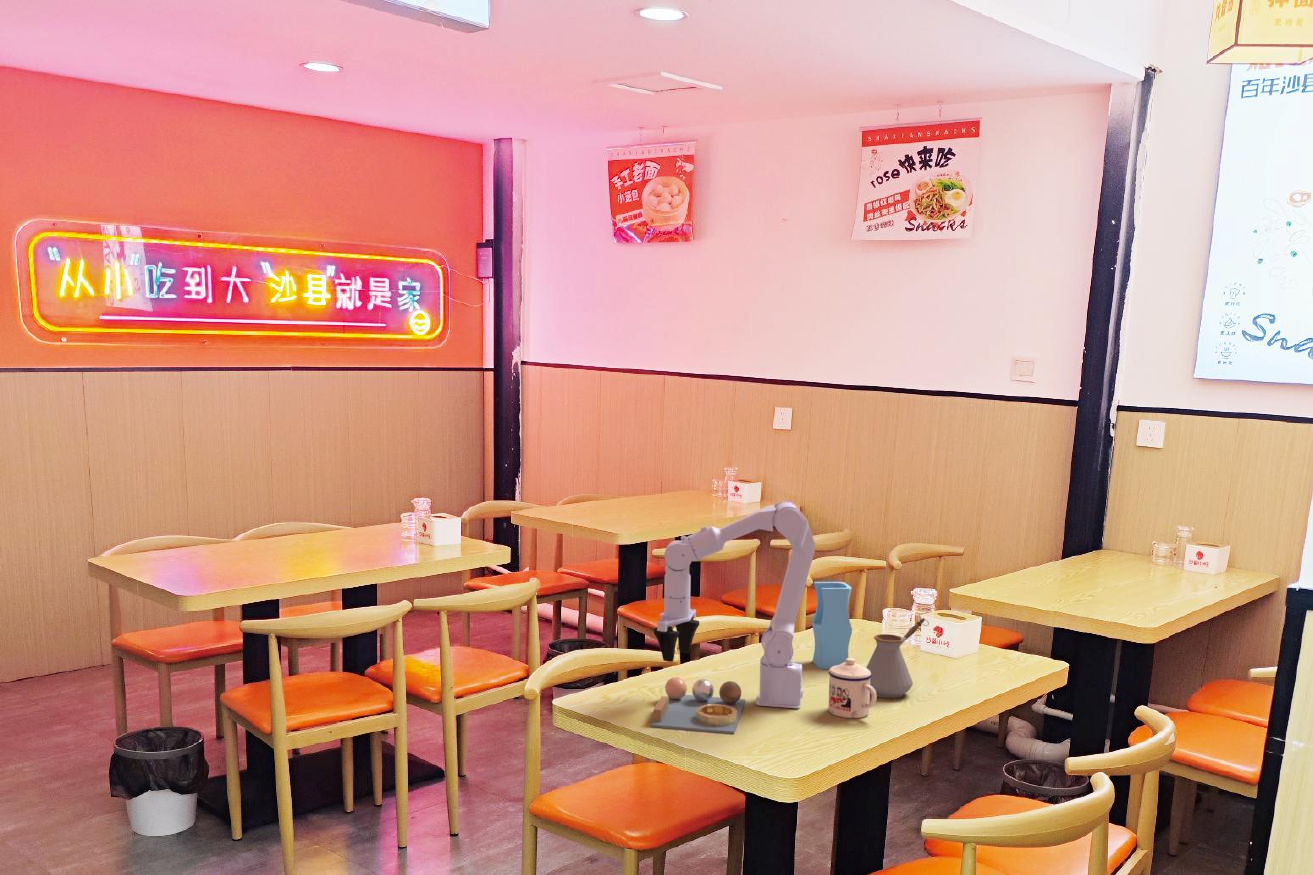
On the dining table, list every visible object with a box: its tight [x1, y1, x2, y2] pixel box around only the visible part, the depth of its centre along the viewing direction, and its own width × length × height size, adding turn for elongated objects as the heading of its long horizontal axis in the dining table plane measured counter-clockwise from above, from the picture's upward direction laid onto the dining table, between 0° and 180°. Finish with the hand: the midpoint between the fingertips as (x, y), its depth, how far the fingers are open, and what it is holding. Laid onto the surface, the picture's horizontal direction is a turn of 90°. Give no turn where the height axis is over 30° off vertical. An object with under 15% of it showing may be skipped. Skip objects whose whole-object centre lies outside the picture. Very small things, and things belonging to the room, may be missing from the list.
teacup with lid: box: [828, 657, 878, 719], centre depth 229 cm, size 12×9×12 cm
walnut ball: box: [718, 680, 742, 704], centre depth 234 cm, size 5×5×5 cm
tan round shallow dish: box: [696, 704, 737, 726], centre depth 223 cm, size 8×8×2 cm
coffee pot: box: [865, 617, 930, 699], centre depth 248 cm, size 21×12×15 cm, turn 135°
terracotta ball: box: [664, 676, 688, 700], centre depth 236 cm, size 5×5×5 cm
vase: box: [811, 581, 853, 670], centre depth 266 cm, size 8×8×20 cm
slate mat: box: [650, 694, 746, 735], centre depth 228 cm, size 17×21×3 cm
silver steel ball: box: [691, 678, 715, 702], centre depth 235 cm, size 5×5×5 cm
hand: (676, 656), depth 237 cm, fingers open, 7 cm apart
